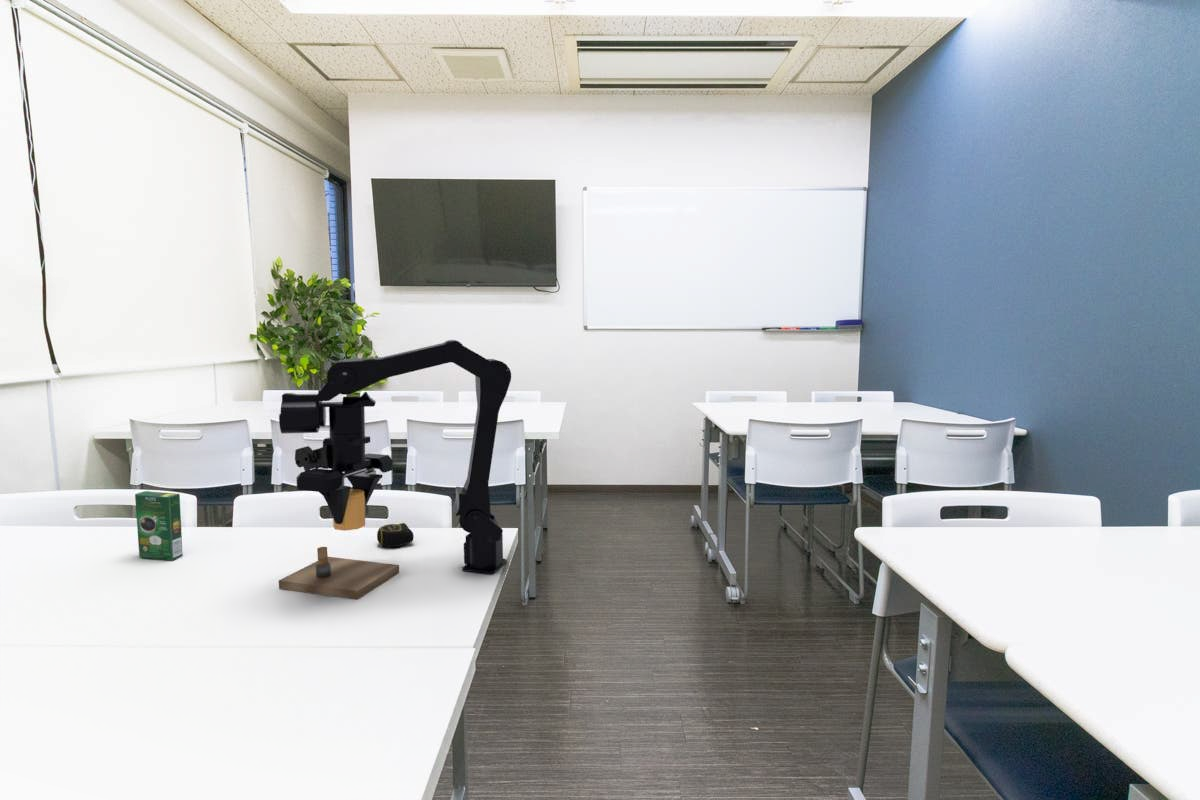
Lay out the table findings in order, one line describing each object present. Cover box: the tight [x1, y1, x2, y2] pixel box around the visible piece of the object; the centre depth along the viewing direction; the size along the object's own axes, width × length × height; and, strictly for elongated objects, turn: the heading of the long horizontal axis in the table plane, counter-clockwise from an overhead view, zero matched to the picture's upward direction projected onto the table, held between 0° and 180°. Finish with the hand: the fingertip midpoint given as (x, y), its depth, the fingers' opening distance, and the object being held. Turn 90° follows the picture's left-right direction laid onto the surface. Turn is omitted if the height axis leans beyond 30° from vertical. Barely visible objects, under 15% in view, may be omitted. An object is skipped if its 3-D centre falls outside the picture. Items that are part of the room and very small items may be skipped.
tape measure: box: [376, 522, 415, 548], centre depth 131 cm, size 7×7×4 cm
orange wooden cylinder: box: [332, 488, 366, 532], centre depth 109 cm, size 5×5×6 cm
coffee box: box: [134, 490, 184, 561], centre depth 122 cm, size 8×3×13 cm, turn 79°
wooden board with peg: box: [278, 546, 400, 600], centre depth 111 cm, size 16×12×6 cm
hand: (348, 519), depth 110 cm, fingers closed on orange wooden cylinder, 5 cm apart
